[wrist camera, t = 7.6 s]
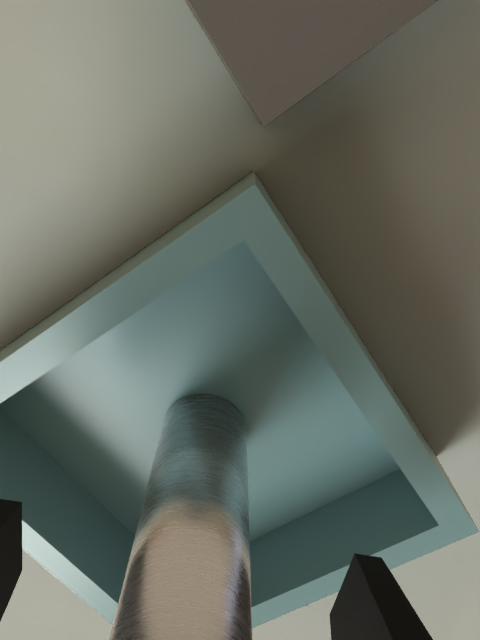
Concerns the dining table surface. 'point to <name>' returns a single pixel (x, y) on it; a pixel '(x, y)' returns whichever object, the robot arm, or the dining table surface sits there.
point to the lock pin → (192, 532)
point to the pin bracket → (295, 42)
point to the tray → (231, 384)
